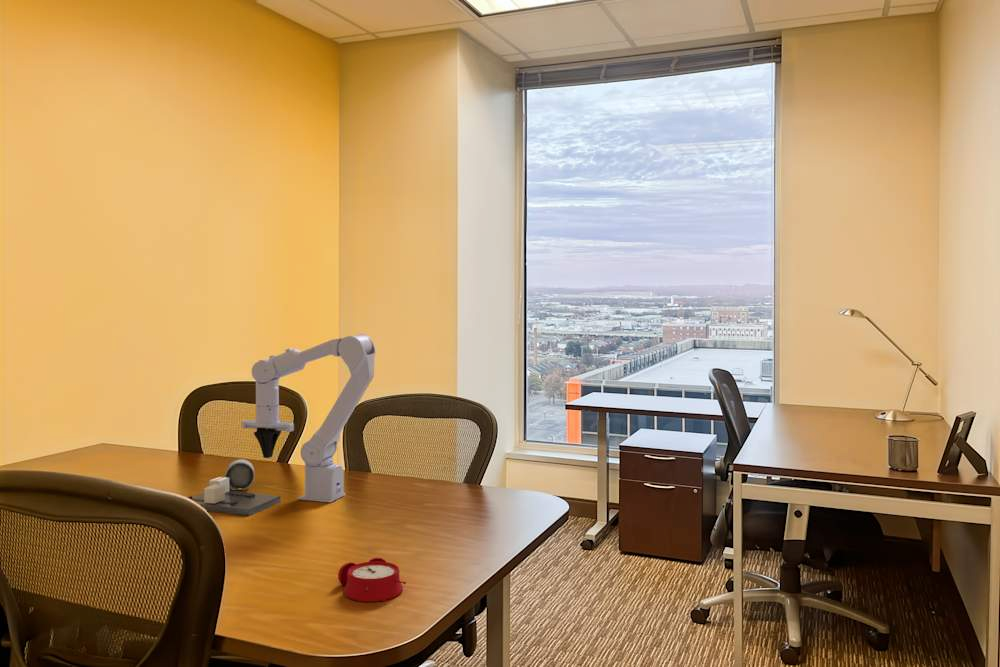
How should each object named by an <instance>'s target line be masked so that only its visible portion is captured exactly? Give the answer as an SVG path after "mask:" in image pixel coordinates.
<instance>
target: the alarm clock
mask: <svg viewBox="0 0 1000 667" xmlns="http://www.w3.org/2000/svg"><path fill="white" fill-rule="evenodd" d="M337 574H338V575H337V579H338V582H339V584H340V585H342V586H345V587H344V589H343V594H344V596H345V597H346V598H349V599H350V600H353V601H357V602H366V603H367V602H368V603H369V602H370V603H372V602H381V601H382V603H386V602H389V600H391V599H394V598H396V597H397V596H399V595H401V593H403V590H404V587H403V585H406V583H407V582H406V581H401V580H400V569H399V566H398V565H396V564H394V563H391V562H388V561H386V560H385V559H384V558H382V557H372V558H371V559H369V560H368V561H364V562H362V563H361V562H360V563H354V562H349V561H348V562H346V563H344V564H343V565H341V567H340V568H339V570H338V573H337ZM344 583H346V584H344ZM343 584H344V585H343Z"/></svg>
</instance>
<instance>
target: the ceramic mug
mask: <svg viewBox="0 0 1000 667" xmlns="http://www.w3.org/2000/svg"><path fill="white" fill-rule="evenodd" d="M255 475H256V474H255V469H254V465H253V463H251V462H250V461H248V460H247V459H236V460H234V461H232V462H231V463H229V465H228V466H227V468H226V471H225V473H224V477H226V478H229V490H231V491H235V490H243V491H246V490H247V489H249V488H250V487H251V486H252V485H253V484H254V481H255V478H256V476H255ZM238 488H242V489H238Z"/></svg>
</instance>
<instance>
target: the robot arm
mask: <svg viewBox="0 0 1000 667" xmlns="http://www.w3.org/2000/svg"><path fill="white" fill-rule="evenodd" d="M284 351H285V352H283V353H279V354H277V355H275V354H272V355H269V356H268V357H269V359H260V360H258V361H257V362H255V363H254V364H253V365H252V367H251V376H252V378H253V379H254V380H255V420H253V419H252V420H251V419H250V420H249V419H245V420H241V429H252V430H255V429H256V430H255V431H254V432H253V434H254V436H255V438H256V439H257V441H258V443H259V447H260V449H261V452H262V456H263V459H269V458H270V459H271V458H272V457H273V455H274V450H275V447H276V444H277V440H278V439H279V437H280V435H281V434H282V432H287V433H291V432H294V431H295V423H292V422H288V421H287V422H286V421H280V398H279V397H280V395H279V394H280V393H279V391H280V387H279V382H280V381H279V380H280V378H283V377H286V376H289V375H292V374H294V373H297V372H300V371H303V370H304V368H305V367H306V365H307V363H310V362H312V361H316V360H318V359H322V358H326V357H328V356H331V355H332V356H334V357H336V358H337V357H340V358H341V359H342V360H343V362H344V364H346V366H347V367H348V370H349V373H350V377H349V379H348V381H347V382H346V384H345V386H344V387H343V389H342V391H341V392H340V394H339V395H338V398H337V399H336V400H335V402H334V404H333V406H332V407H331V409H330V411H329V412H328V414H327V416H326V418H325V419H324V421H323V423H322V424H321V426H320V427H319V428H318V429H317V430H316V431H315V432H314V434H313V435H312V436H311V437H310V439H309V440H308V441H306V442H304V443H303V444H302V446H301V448H300V457H301V459H302V461H303V462H304V494H302V495H301V496H298V498H297V499H298V500H300V501H301V500H303V501H311V502H313V501H314V502H322V503H333V502H334V501H336V500H338V499H340V498H343V497H344V496H346V493H345V487H344V486H345V482H344V480H345V478H344V477H345V475H344V473H345V472H344V469H343V467H342V465H339V464H336V463H334V458H333V456H334V455H335V454H336V453H337V450H338V443H339V441H340V439H341V432H342V431H343V429H344V427H345V426H346V424H347V422H348V421H349V419H350V417H351V416H352V414H353V412H354V411H355V408H357V406H358V404H359V402H360V400H361V398H362V397H363V396H364V395H365V393H366V390H367V389H368V387H369V386H370V384H371V382H372V380H373V379H374V377H375V376H374V375H375V355H376V353H377V350H376V347H375V344H374V342H373V340H372V338H371V337H370V336H368V335H367V334H364V333H363V334H362V333H360V334H356V335H348V336H344V337H340V338H339V337H338V338H334V339H330V340H328V341H324V342H322V343H319V344H318V345H314V346H313V347H310V348H307V349H305V350H299V349H297V348H294V349H293V348H292V347H290V348H289V347H288V348H286V349H285V350H284Z"/></svg>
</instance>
